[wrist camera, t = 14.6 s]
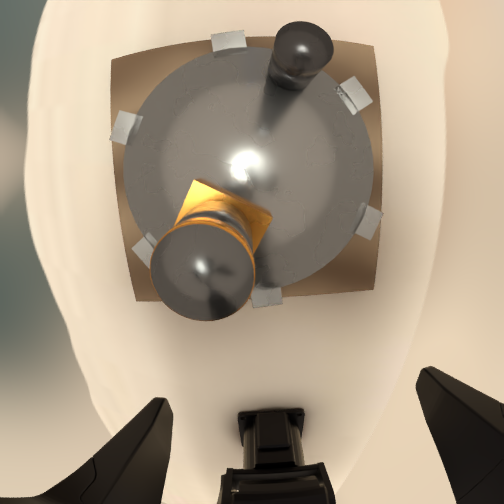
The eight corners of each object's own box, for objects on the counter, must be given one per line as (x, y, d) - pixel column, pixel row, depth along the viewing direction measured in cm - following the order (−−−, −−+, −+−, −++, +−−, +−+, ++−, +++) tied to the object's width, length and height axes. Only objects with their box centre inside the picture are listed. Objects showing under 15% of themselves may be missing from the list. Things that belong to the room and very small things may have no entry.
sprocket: (408, 119, 15) (462, 113, 9) (316, 317, 19) (336, 370, 14) (171, 22, 12) (144, -19, 7) (95, 236, 17) (49, 267, 12)
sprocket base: (368, 283, 20) (373, 290, 19) (140, 294, 20) (135, 302, 19) (367, 50, 14) (373, 45, 13) (117, 63, 14) (110, 59, 13)
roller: (254, 270, 16) (257, 320, 11) (183, 273, 16) (159, 321, 11) (251, 197, 15) (252, 219, 10) (174, 202, 15) (141, 226, 10)
